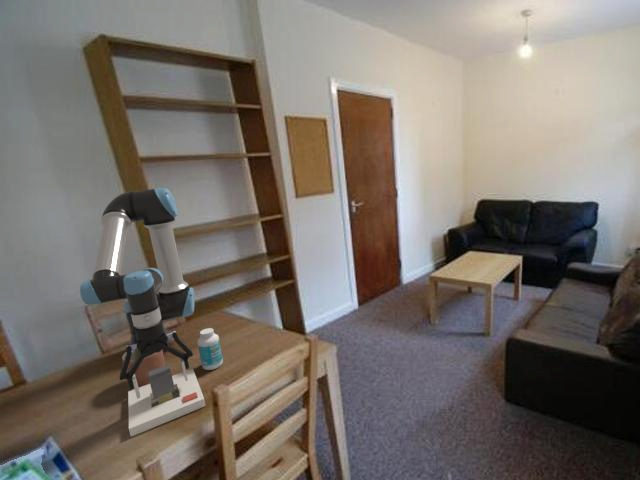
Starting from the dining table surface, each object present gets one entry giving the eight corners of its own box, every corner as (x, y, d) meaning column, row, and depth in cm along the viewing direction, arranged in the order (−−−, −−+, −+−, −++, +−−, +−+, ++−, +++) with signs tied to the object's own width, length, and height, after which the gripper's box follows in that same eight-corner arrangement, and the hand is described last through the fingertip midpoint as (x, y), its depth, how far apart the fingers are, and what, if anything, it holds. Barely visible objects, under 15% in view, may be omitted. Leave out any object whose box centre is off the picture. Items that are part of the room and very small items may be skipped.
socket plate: (130, 398, 110) (127, 390, 110) (194, 374, 120) (192, 367, 119) (130, 436, 93) (128, 427, 92) (205, 405, 102) (203, 397, 102)
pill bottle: (217, 371, 120) (210, 336, 117) (198, 370, 122) (191, 336, 119) (227, 359, 127) (220, 326, 125) (209, 359, 129) (202, 326, 126)
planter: (156, 365, 129) (150, 339, 126) (174, 374, 121) (168, 346, 119) (122, 384, 119) (115, 356, 117) (140, 395, 112) (132, 365, 109)
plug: (155, 400, 107) (148, 371, 105) (175, 392, 110) (169, 364, 108) (156, 410, 102) (149, 380, 100) (177, 402, 105) (171, 373, 103)
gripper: (98, 342, 92) (116, 411, 96) (194, 314, 103) (206, 377, 108) (99, 332, 98) (117, 397, 103) (190, 307, 110) (202, 366, 114)
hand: (163, 387), depth 105 cm, fingers open, 13 cm apart
